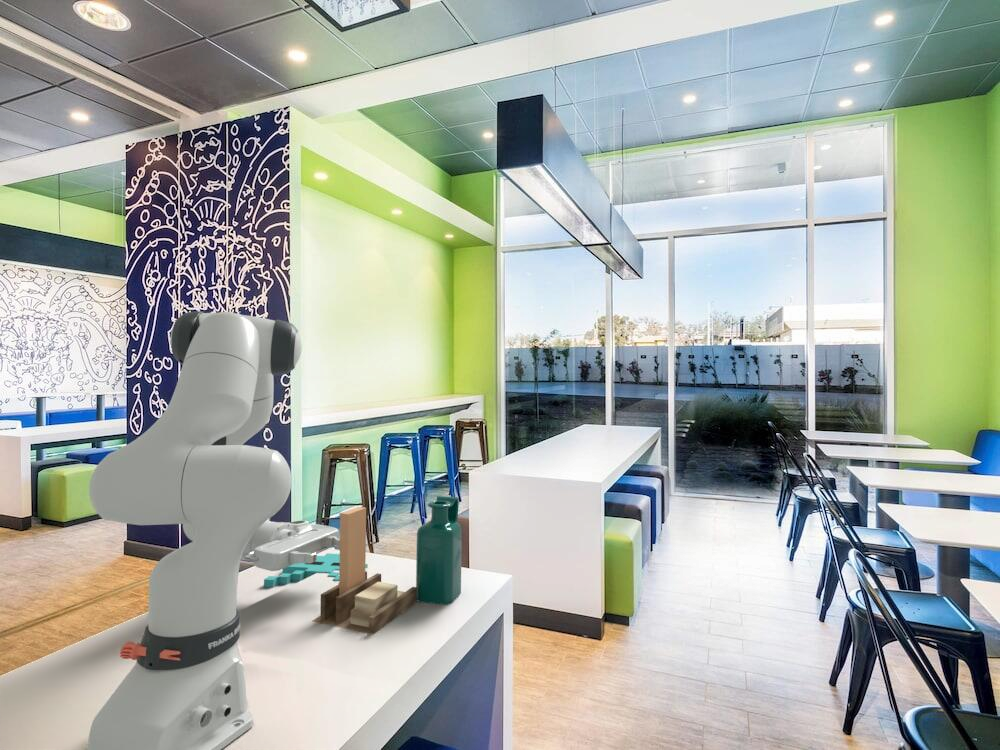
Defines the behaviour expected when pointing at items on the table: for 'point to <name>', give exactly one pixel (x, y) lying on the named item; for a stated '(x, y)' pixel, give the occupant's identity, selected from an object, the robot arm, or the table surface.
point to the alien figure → (307, 570)
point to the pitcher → (439, 554)
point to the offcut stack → (372, 601)
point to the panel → (352, 548)
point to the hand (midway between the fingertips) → (329, 551)
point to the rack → (340, 607)
